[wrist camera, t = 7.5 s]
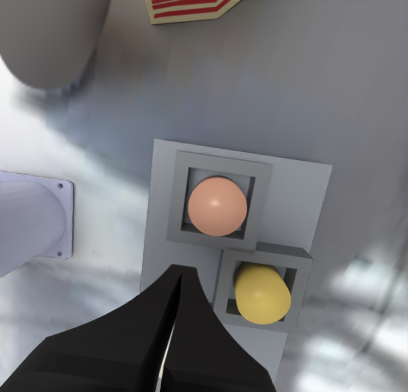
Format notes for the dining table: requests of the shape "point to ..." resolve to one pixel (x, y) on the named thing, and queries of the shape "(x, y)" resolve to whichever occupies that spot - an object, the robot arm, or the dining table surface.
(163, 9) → the milk carton
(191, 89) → the dining table surface
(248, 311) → the button mustard
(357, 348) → the dining table surface
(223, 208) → the button terracotta
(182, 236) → the panel
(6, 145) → the dining table surface
